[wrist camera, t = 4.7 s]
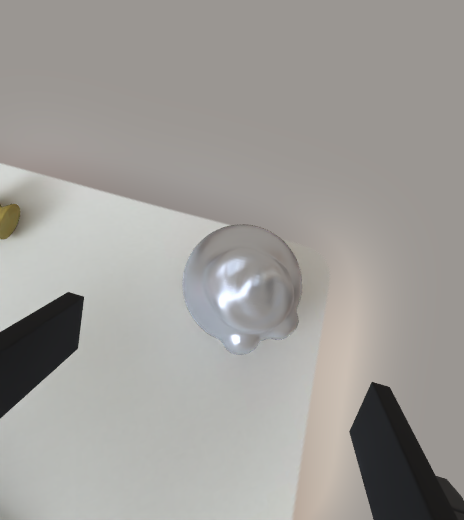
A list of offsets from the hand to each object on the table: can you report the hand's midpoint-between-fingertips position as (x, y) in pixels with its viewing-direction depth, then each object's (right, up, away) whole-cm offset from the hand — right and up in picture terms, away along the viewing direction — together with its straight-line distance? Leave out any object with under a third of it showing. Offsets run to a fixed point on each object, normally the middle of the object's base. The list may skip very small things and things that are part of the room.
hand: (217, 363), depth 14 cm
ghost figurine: (+1, 0, +14) cm, 14 cm away
